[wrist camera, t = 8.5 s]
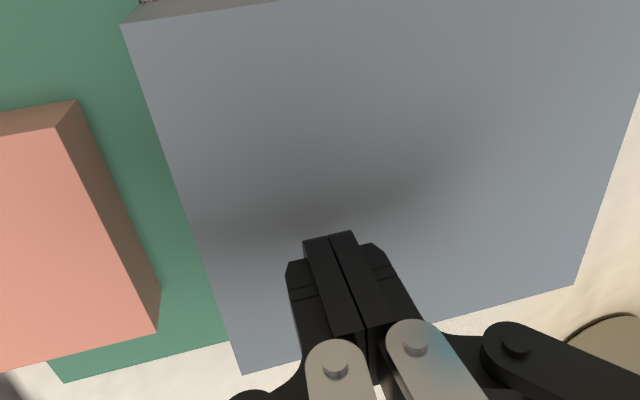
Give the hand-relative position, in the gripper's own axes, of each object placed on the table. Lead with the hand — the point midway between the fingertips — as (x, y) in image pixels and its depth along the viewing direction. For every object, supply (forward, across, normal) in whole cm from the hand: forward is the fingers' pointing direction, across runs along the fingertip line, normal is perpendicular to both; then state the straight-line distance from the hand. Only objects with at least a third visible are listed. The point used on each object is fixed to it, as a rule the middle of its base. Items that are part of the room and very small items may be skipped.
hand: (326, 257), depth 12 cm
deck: (+6, -4, 0) cm, 7 cm away
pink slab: (+4, +10, 0) cm, 11 cm away
